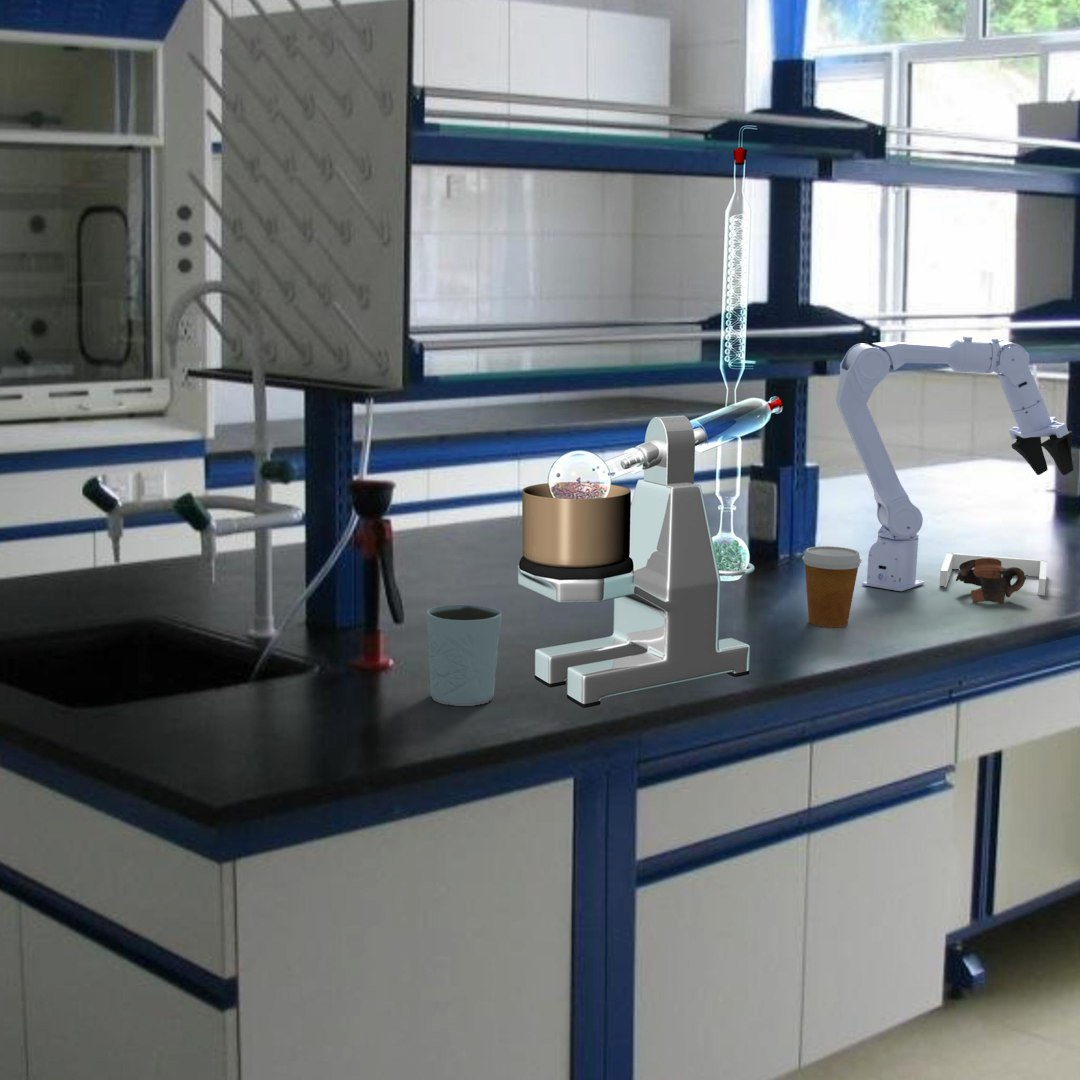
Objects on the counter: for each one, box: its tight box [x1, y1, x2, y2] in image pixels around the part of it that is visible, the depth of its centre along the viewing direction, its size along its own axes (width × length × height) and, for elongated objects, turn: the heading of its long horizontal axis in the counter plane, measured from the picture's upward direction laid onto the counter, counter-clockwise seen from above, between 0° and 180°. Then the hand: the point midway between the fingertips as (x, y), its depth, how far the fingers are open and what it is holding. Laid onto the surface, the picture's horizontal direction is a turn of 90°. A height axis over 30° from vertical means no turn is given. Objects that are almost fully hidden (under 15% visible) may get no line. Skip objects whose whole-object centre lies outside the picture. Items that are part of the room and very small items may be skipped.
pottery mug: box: [955, 558, 1027, 604], centre depth 314 cm, size 12×10×8 cm
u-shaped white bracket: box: [939, 552, 1048, 596], centre depth 328 cm, size 18×18×3 cm
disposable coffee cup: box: [801, 545, 863, 628], centre depth 290 cm, size 10×10×12 cm
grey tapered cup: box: [425, 604, 503, 703], centre depth 241 cm, size 10×10×12 cm
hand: (1055, 472), depth 320 cm, fingers open, 7 cm apart
